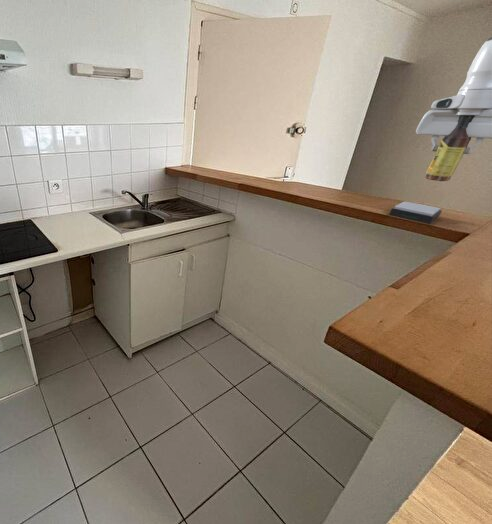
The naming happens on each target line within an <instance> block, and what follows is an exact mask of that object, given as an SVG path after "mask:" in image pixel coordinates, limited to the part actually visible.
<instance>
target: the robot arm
mask: <svg viewBox="0 0 492 524" xmlns="http://www.w3.org/2000/svg"><path fill="white" fill-rule="evenodd" d="M430 108H431V109H429V110H428V111H427V112H426V113H425V114H424V115H423V117H422V118H421V120H420V121H419V123H418V125H417V126H416V129H415V133H416V135H419V136H420V135H421V136H431V138H430V142H431V145H432V146H431V148H430V152H436V151H437V149H438V147H439V145H440V144H438V142H437V140H439V139H440V137H445V136H448V135H449V134H450V133H451V132H452V131H453V130H454V129H455V128H456V126H457V124H458V120H459V116H460V115H475V117H474V118H473V120H472V121H471V122H470V123H469V124H468V127H467V128H466V132H467V135H468V137H471V138H475V140H474V142H475V143H474V144H472V146H470V147H469V146H467V148H466V149H465V151H464V152H463V155H471V154H472V153H473V151H474V149H475V148H476V147H478V146H479V145H481V144H482V143H483V142H484V140H485V139H491V140H492V36H491V37H490V38H488V39H486V41H485V42H484V43H483V44H482V45H481V47H480V48H479V50H478V51H477V53H476V55H475V56H474V58H473V60H472V62H471V64H470V66H469V68H468V70H467V73H466V78H465V81H464V83H463V84H462V85H461V86H460V88H459V90H458V92H457V93H456V95H453V96H449V97H445V98H441V99H437V100H434V101H433V102H432V104H431V107H430Z"/></svg>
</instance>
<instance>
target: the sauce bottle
mask: <svg viewBox="0 0 492 524" xmlns="http://www.w3.org/2000/svg"><path fill="white" fill-rule="evenodd" d="M474 117H475V115H460V116H459V120H458V124H457V126H456V128H455V129H454V130H453V131H452V132H451V133H450V134H449V135H448V136H443V138H442V139H441V141H440V143H439V144H438V145H439V147H438V149H437V151H435V153H434V155H433V158H432V160H431V162H430V164H429V166H428V168H427V170H426V172H425V179H426V180H430V181H437V182H447V181H450V180H451V178H452V176H453V175H454V173H455V171H456V169H457V168H458V165H459V164H460V162H461V160H462V158H463V156H464V154H463V152H464V151H465V149H466V148H467V147H468V146H469V143H470V142H471V140H472V137H468V135H467V132H466V128H467V127H468V124H469V123H470V122H471V121H472V120H473V118H474Z"/></svg>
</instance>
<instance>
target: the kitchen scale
mask: <svg viewBox="0 0 492 524" xmlns="http://www.w3.org/2000/svg"><path fill="white" fill-rule="evenodd" d="M442 212H443V210H442V208H441V207H436V206H433V205H426V204H421V203H416V202H412V201H411V202H410V201H406V200H404V201H403V202H401V203H398V204H397V205H395V206H394V207H392V208H391V209H390V212H389V216H392V217H396V218H401V219H404V220H405V219H406V220H409V221H414V222H417V223H422V224H423V223H424V224H428V225H430V224H432V223H433V222H435V221H436V220H437V219H438V218H439V217H440V216H441V214H442Z"/></svg>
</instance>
